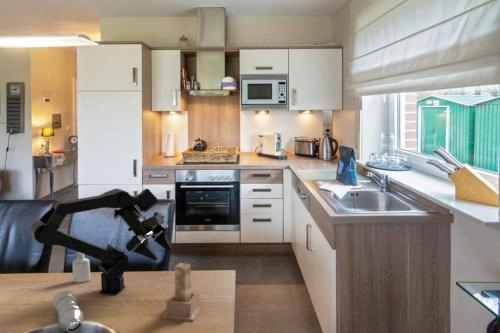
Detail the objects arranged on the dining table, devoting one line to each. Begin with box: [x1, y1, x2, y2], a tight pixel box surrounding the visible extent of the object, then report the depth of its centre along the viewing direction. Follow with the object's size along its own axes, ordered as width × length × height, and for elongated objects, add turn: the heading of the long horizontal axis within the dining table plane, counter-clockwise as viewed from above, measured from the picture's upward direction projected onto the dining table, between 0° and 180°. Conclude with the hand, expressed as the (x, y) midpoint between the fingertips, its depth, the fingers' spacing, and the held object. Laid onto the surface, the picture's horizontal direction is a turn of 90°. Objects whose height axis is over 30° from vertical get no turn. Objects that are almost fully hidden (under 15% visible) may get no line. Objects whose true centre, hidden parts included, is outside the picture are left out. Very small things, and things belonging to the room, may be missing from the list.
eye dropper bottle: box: [72, 251, 91, 284], centre depth 147 cm, size 4×6×12 cm
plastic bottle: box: [52, 289, 84, 333], centre depth 118 cm, size 6×7×20 cm
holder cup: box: [160, 291, 205, 322], centre depth 125 cm, size 10×10×5 cm
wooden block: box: [174, 262, 192, 302], centre depth 124 cm, size 4×4×14 cm
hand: (163, 254), depth 138 cm, fingers open, 9 cm apart
